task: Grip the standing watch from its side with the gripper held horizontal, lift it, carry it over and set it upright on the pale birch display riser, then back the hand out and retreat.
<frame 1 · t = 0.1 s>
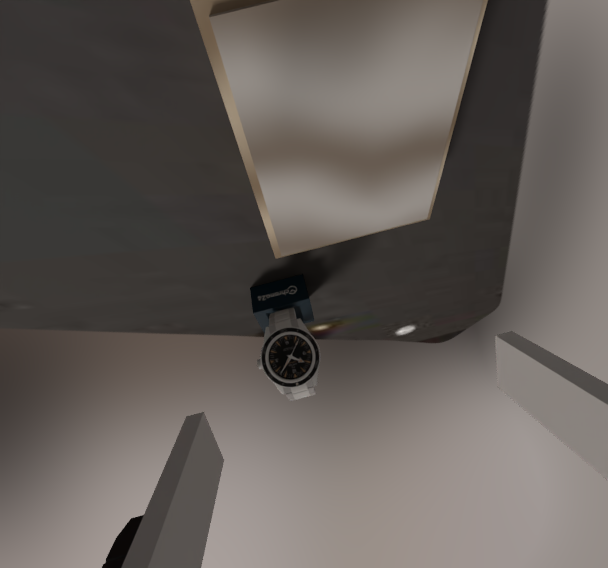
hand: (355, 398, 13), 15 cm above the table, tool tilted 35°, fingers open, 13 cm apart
display riser: (334, 121, 18), on the table
watch: (279, 291, 31), on the table
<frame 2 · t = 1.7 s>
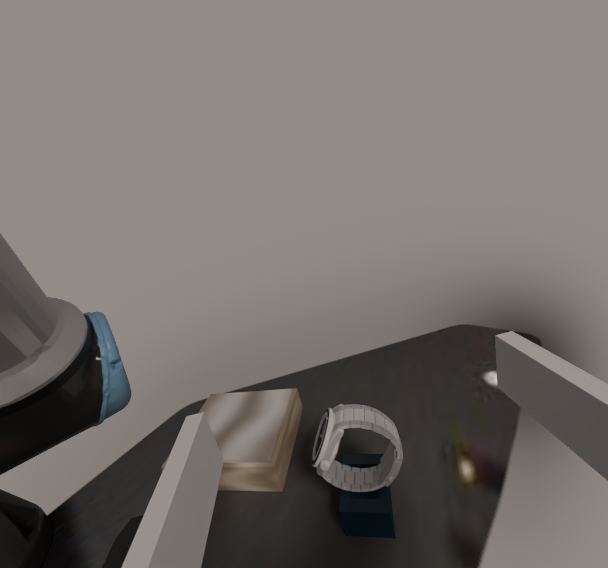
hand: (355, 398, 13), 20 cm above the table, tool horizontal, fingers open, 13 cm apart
display riser: (244, 444, 38), on the table
watch: (368, 505, 28), on the table
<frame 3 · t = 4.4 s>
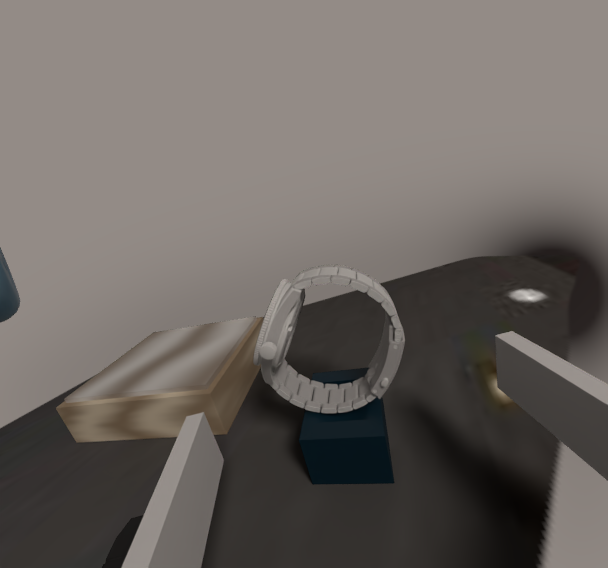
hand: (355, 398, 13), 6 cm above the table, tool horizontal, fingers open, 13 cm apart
display riser: (188, 387, 28), on the table
watch: (351, 443, 18), on the table
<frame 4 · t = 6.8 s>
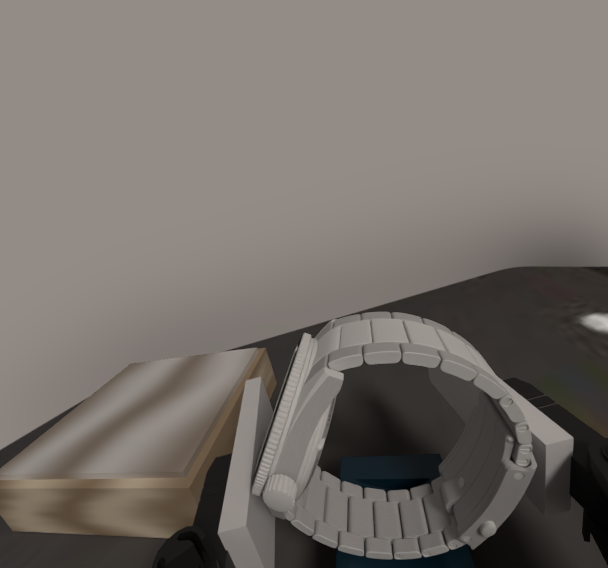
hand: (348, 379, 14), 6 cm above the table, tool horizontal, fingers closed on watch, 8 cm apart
display riser: (169, 443, 21), on the table
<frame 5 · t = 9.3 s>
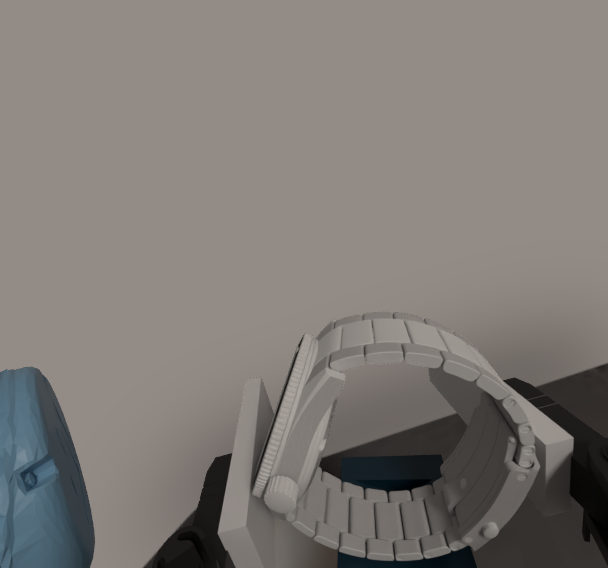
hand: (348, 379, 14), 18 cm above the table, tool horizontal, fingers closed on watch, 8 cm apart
when the fingers open (11 cm above the table, at t = 11.8 s): watch drops 1 cm, resting on display riser.
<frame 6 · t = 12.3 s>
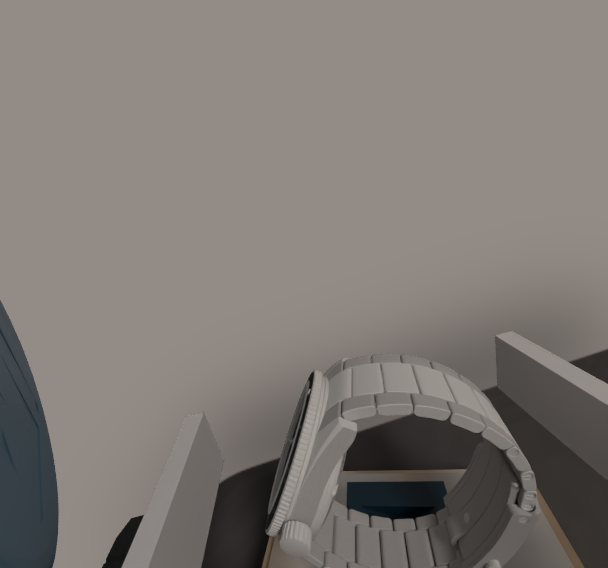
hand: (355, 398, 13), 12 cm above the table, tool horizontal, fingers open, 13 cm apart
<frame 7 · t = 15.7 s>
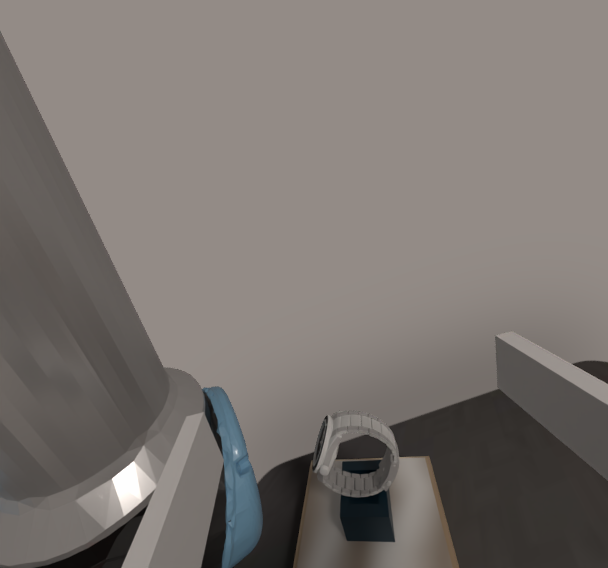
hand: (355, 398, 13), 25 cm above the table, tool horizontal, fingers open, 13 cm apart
display riser: (375, 536, 29), on the table
watch: (368, 511, 28), point 4 cm above the table, touching display riser
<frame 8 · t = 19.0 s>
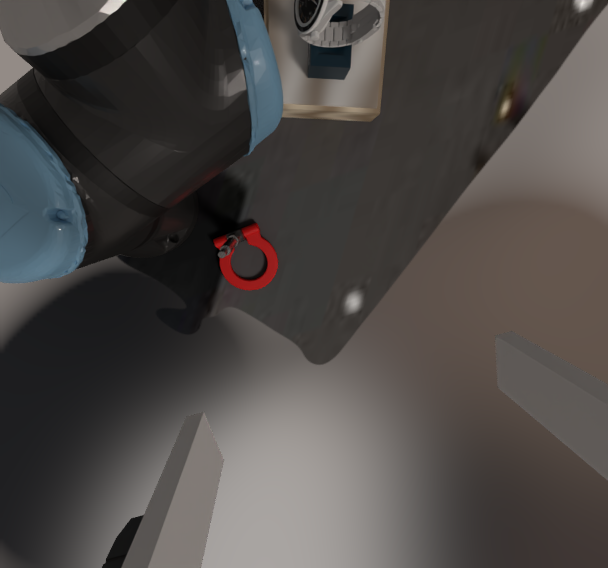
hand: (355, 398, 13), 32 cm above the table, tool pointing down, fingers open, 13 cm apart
tow hook: (248, 258, 43), on the table
display riser: (321, 66, 36), on the table
watch: (325, 52, 33), point 4 cm above the table, touching display riser
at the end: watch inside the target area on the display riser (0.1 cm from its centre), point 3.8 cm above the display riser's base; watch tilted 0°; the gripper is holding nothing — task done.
